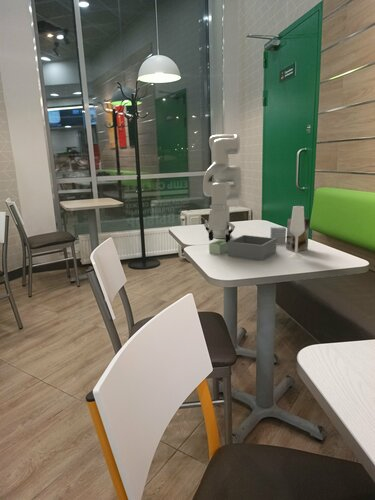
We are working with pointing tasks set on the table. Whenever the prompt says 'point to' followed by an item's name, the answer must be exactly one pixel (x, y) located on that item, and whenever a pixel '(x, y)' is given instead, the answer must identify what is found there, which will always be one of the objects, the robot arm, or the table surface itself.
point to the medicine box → (278, 234)
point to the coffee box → (301, 239)
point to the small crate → (218, 247)
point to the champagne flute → (297, 227)
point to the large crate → (252, 247)
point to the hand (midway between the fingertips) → (219, 241)
